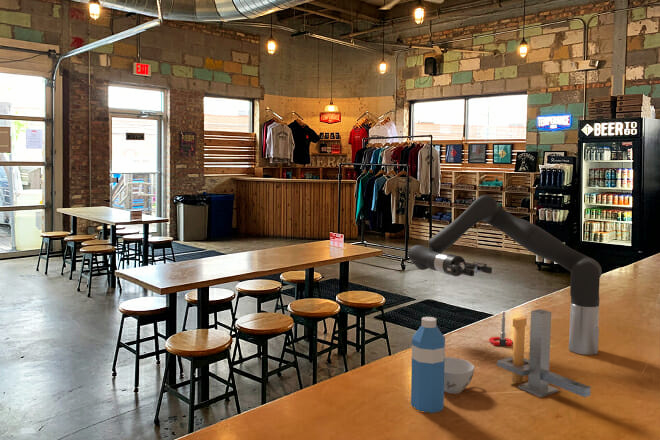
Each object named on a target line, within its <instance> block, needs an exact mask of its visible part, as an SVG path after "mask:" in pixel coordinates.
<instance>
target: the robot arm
mask: <svg viewBox="0 0 660 440" xmlns="http://www.w3.org/2000/svg"><path fill="white" fill-rule="evenodd" d="M480 222H483V223H486V224H487V225H489V226H491V227H493V228H495V229H498V230H500V231H501V232H502V233H504V234H505V235H506V236H508V237H509V238H510V239H512V241H514V242H515V243H517V244H519V245H520V246H521V247H523V248H525V249H526V250H527V251H529V252H530V253H532V254H534V255H536V256H538V257H541V258H543V259H545V260H548V261H551V262H553V263H556V264H557V265H560V266H561V267H563V268H564V269H566V270H567V271H569V272H570V285H569V286H570V288H569V289H570V291H569V293H570V310H569V311H570V312H569V331H568V332H569V333H568V335H569V337H568V350H569V351H570V352H571V353H575V354H580V355H585V356H586V355H587V356H589V355H598V354H599V352H598V351H599V340H600V339H599V335H600V328H599V319H600V318H599V315H600V284H601V283H600V279H601V276H602V274H603V271H602V266H601V265H600V263H599V262H598V261H597V260H595V259H594V258H592V257H589V256H587V255H585V254H583V253H581V252H579V251H577V250H575V249H573V248H571V247H569V246H568V245H566V244H565V243H563V241H561V240H560V239H558V238H557V237H555V236H553V235H552V234H551V233H549V232H547V231H546V230H544V229H543V228H541V227H539V226H538V225H536V224H534V223H532V222H530V221H527V220H525V219H522V218H519V217H517V216H515V215H513V214H512V213H509V212H508V211H507V210H506V209H504V208H503V207H501V206H500V205H499V204H498V202H497V200H496V199H495V198H494V197H492V196H491V195H486V194H483V195H480V196H478V197H477V198H476V199H475V200H473V202H472V203H471V204H470V205H469V206H468V207H467V208H466V209H465V210H464V211H463V212H462V213H461V214H460V215H458V217H457V218H455V219H454V220H453V221H452V222H450V223H449V224H447V226H445V227H444V228H442V229H441V230H440V231H438V232H437V233H436V234H435V235H433V236H432V237H431V238H430V239H428V245H429V247H430V248H429V247H427V246H424V245H421V244H416V245H413V246H412V247H410V248H409V249H408V251H407V257H408V258H409V260H410V261H411V262H412V263H413V265H414V266H415V267H416V268H417V269H418V270H420V271H424V270H425V271H426V270H428V269H430V270H433V271H434V272H435V271H436V272H440V273H442V274H444V275H449V276H454V277H460V276H461V275H462V276H465V275H466V276H469V277H474V276H475V274H477V273H485V274H488V275H489V274H492V273H493V267H491V266H487V265H488V264H487V263H483V262H478V261H473V262H471V261H465V259H464V257H463V256H461V255H456V254H452V253H448V252H445V251H447V250H448V249H449V248H450V247H451V246H452V245H454V244H455V243H457V242H458V240H459V239H460V238H461V237H462V236H463V235H464V234H465V233H466V232H468V231H469V230H470V229H471V228H472V227H474V226H475V225H476V224H478V223H480ZM443 252H444V253H443Z"/></svg>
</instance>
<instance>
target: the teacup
mask: <svg viewBox="0 0 660 440" xmlns="http://www.w3.org/2000/svg"><path fill="white" fill-rule="evenodd" d="M474 371H475V365H474V364H472V363H471V362H470V361H468V360H466V359H463V358H462V359H461V358H457V357H452V356H445V368H444V393H449V394H453V395H454V394H455V395H456V394H460V393H461V392H462V391H463V390H465V389H466V388H467V387H468V385H470V383H471V381H472V379H473V376H474V373H475V372H474Z"/></svg>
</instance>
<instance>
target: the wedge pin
mask: <svg viewBox="0 0 660 440" xmlns="http://www.w3.org/2000/svg"><path fill="white" fill-rule="evenodd" d="M527 322H528V318H527V317H525V316H519V317H516V318H512V328H513V343H512V346H513V347H512V357H513V364H514V365H516V366H519V367H521V366H524V358H525V339H526V337H525V335H526V327H527V326H528V325H527V324H528V323H527ZM511 376H512V379H511V381H512V382H513V383H515V384H523V382H524V376H521V375H518V374H516V373H514V372H512V375H511Z"/></svg>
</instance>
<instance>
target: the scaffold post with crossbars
mask: <svg viewBox="0 0 660 440" xmlns="http://www.w3.org/2000/svg"><path fill="white" fill-rule="evenodd" d="M529 328H530V329H529V332H530V333H529V359H528V358H525V357H524V366H521V367H519V366H516V365H514V364H513V356H509V357H507V358H503V359H498V360H496V366H497V367H500V368H502V369H504V370H507V371H509V372H514V373H516V374H518V375H521V376H523V377H525V376H528V377H527V378H528V380H527V381H528V382H524V383H520V384H518V386H517V388H518V389H519V390H522V391H524V392H527V393H529V394H531V395H533V396H536V397H538V398H543V397H547V396H548V395H553V394H555V393H558V392H559V388H561V389H563V390H565V391H569V392H570V393H573V394H575V395H578V396H581V397H583V398H587V397H591V391H592V390H591V386H589V385H586V384H584V383H581V382H579V381H576V380H573V379H571V378H568V377H565V376H563V375H560V374H557V373H555V372H552V371H550V355H551V354H550V353H551V335H552V334H551V331H552V330H551V329H552V311H548V310H544V309H541V308H538V309H534V310H531V311H530V327H529ZM550 384H551V385H550ZM552 385H553V386H552ZM555 386H556V387H555ZM557 387H558V388H557Z"/></svg>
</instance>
